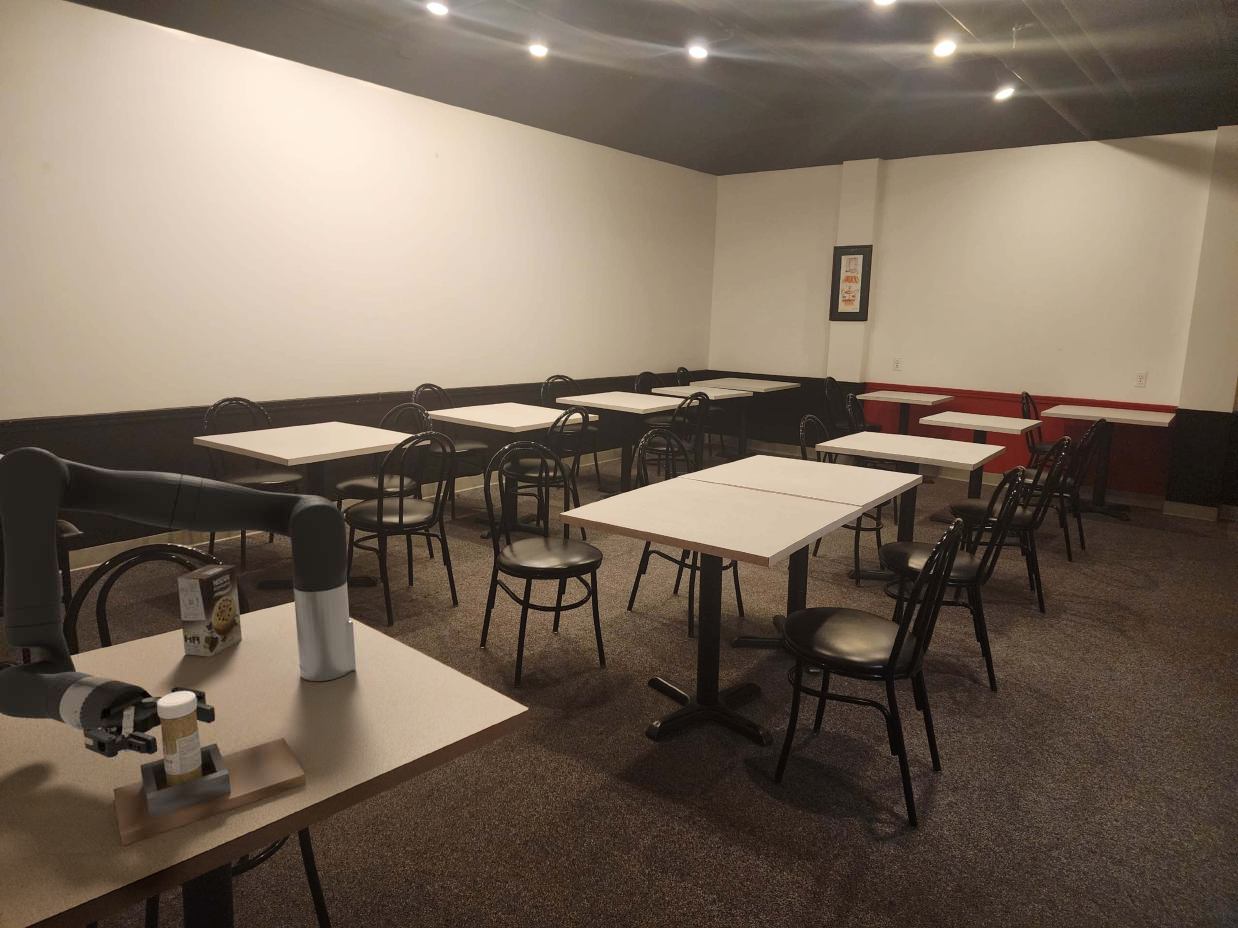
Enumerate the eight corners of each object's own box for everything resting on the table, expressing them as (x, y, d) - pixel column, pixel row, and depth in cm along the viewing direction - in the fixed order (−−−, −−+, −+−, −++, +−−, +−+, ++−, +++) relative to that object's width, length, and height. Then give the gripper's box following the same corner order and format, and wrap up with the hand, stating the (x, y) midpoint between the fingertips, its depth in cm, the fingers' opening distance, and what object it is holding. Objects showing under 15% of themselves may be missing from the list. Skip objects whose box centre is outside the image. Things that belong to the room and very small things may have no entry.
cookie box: (212, 657, 148) (204, 579, 145) (183, 654, 150) (175, 576, 147) (243, 639, 157) (236, 564, 154) (216, 636, 158) (209, 562, 156)
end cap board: (284, 746, 117) (282, 719, 116) (305, 783, 107) (303, 754, 107) (114, 798, 104) (110, 769, 103) (121, 845, 94) (117, 813, 94)
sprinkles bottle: (161, 789, 103) (151, 698, 101) (197, 774, 107) (188, 686, 104) (174, 802, 100) (163, 709, 98) (210, 787, 104) (201, 696, 102)
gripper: (48, 705, 101) (130, 730, 94) (150, 662, 114) (227, 681, 107) (55, 756, 102) (136, 784, 96) (155, 708, 115) (232, 730, 109)
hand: (184, 730), depth 102 cm, fingers open, 8 cm apart
